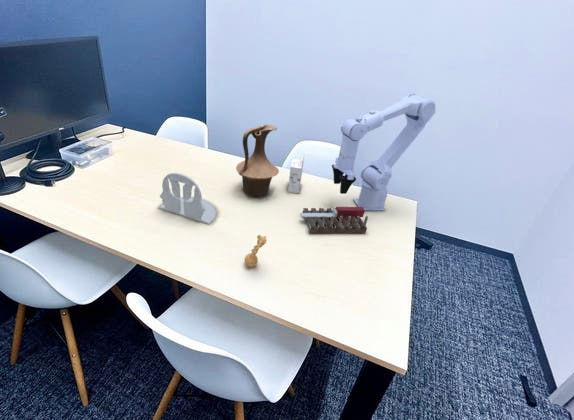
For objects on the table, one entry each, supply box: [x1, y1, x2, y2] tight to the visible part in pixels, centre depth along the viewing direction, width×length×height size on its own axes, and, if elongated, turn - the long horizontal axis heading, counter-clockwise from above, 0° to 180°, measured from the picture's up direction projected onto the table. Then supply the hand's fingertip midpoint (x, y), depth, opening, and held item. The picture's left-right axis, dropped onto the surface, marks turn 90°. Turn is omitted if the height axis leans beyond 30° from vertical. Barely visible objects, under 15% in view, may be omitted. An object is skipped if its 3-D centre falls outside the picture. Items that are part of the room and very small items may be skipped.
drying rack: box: [302, 207, 369, 235], centre depth 119 cm, size 20×13×7 cm, turn 95°
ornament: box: [158, 172, 217, 225], centre depth 121 cm, size 22×13×17 cm, turn 65°
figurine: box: [244, 234, 267, 268], centre depth 96 cm, size 8×6×12 cm
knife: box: [299, 206, 366, 218], centre depth 120 cm, size 23×3×3 cm, turn 95°
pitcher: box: [235, 124, 280, 198], centre depth 131 cm, size 18×17×28 cm
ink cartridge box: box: [287, 154, 305, 194], centre depth 139 cm, size 9×5×15 cm, turn 168°
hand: (339, 188), depth 125 cm, fingers open, 7 cm apart
